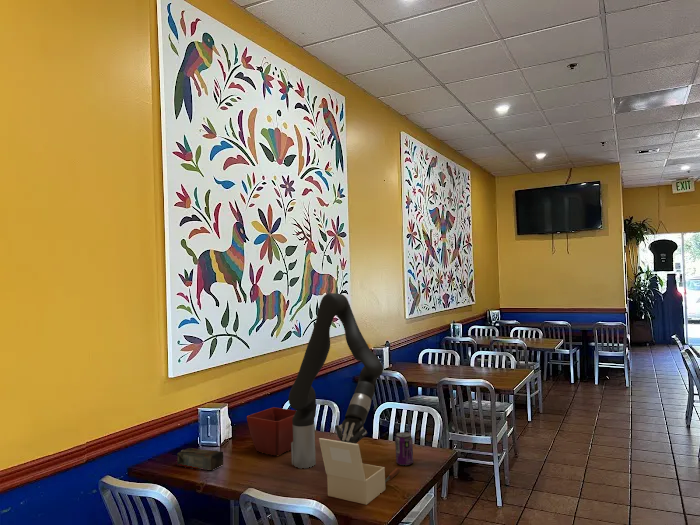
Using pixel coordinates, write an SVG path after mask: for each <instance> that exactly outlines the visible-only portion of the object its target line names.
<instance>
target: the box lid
mask: <svg viewBox="0 0 700 525" xmlns="http://www.w3.org/2000/svg"><path fill="white" fill-rule="evenodd" d="M318 442H319V446H320V447H319V448H320V450H321V456H322V460H323V465H324V469H325V474H326V475H327V474H329V475H334V476H339V477H344V478H349V479H354V480H359V481H364V482H365V481H366V480H365V474H364V469H363V464H364V463H363V460H362V455H361V454H362V453H361V449H360V444H359V443H356V444H354V443H348V442H342V441H341V440H335V439H328V438H323V437H322V438H321V437H319V438H318ZM362 463H363V464H362Z"/></svg>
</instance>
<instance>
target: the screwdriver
mask: <svg viewBox="0 0 700 525" xmlns="http://www.w3.org/2000/svg"><path fill="white" fill-rule="evenodd" d="M400 471H401V469H400V467H396V468H394V469H393V470H392V471H391V472H390V473H389V474H388V476H387V478H386V477H385V484H386V483H387V482H388V481H390V480H393V479H394V477H395V476H397V475H398V474H399V473H400Z"/></svg>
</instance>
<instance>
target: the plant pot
mask: <svg viewBox="0 0 700 525" xmlns="http://www.w3.org/2000/svg"><path fill="white" fill-rule="evenodd" d="M295 413H296V409H288V408H281V407H275V406H273V407H270V408H267V409H264V410H261V411H258V412H255V413H251V414H250V415H249V414H248V415H247V416H246V421H247V426H248V430H249V434H250V437H251V440H252V443H253V445H254V448H255V451H256V452H257V451H259V452H263V453H267V454H266V455H268V454H271V455H270V456H272V455H280V454H282V453H284V452H286V451H288V452H290V451H291V442H293V424H292V419H293V416H294V415H295ZM289 450H290V451H289ZM259 452H258V453H259ZM263 453H262V454H263ZM286 453H287V452H286ZM284 454H285V453H284ZM282 455H283V454H282ZM280 456H281V455H280Z"/></svg>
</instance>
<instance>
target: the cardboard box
mask: <svg viewBox="0 0 700 525" xmlns="http://www.w3.org/2000/svg"><path fill="white" fill-rule="evenodd" d="M362 464H363V469H364V474H365V480H366V481H365V482H364V481H359V480H354V479H349V478H344V477H339V476H334V475H329V474H326V478H327V479H326V480H327V482H326V483H327V496H328V497H332V498H336V499H340V500H345V501H349V502H354V503H358V504H362V505H368V504H369V503H371V502H372V501H374V499H375V498H377V497H378V496H379V495H380V493H381V494H382V493H383V492H384V491H386V483H385V479H386V472H385V471H386V467H385V466H381V465H380V466H378V465H374V464H369V463H363V462H362Z"/></svg>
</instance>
